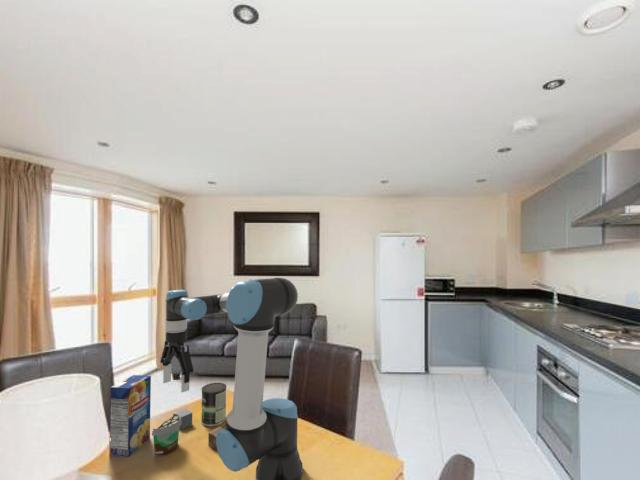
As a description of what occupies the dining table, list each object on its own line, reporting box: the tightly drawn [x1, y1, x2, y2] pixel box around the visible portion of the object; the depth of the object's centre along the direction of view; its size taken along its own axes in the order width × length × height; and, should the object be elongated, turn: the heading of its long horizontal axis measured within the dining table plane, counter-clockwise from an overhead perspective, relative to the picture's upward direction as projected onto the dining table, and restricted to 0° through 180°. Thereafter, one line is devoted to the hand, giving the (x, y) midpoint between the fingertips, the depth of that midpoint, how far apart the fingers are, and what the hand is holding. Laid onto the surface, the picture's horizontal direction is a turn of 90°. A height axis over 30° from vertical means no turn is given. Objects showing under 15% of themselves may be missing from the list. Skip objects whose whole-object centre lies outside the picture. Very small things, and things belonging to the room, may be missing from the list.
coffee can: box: [200, 382, 227, 427], centre depth 141 cm, size 10×10×14 cm
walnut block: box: [208, 426, 224, 452], centre depth 122 cm, size 5×5×5 cm
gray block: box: [174, 409, 193, 430], centre depth 137 cm, size 5×5×5 cm
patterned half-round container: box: [151, 413, 182, 457], centre depth 120 cm, size 12×6×10 cm, turn 168°
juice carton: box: [108, 374, 152, 458], centre depth 122 cm, size 12×8×24 cm, turn 172°
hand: (175, 386), depth 125 cm, fingers open, 13 cm apart
